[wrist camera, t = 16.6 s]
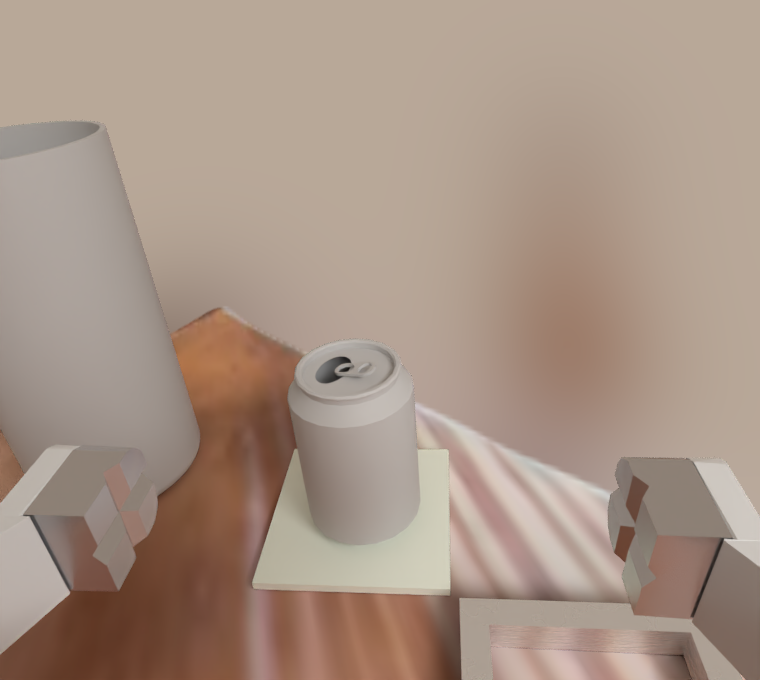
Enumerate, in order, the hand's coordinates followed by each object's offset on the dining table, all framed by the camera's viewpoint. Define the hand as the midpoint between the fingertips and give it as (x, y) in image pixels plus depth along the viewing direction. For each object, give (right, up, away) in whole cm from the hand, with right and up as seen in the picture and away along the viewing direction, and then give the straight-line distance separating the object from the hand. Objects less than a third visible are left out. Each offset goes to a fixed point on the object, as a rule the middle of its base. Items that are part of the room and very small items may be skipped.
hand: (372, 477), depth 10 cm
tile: (-1, -10, +30) cm, 31 cm away
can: (-1, -9, +30) cm, 31 cm away
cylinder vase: (-20, -8, +37) cm, 43 cm away
